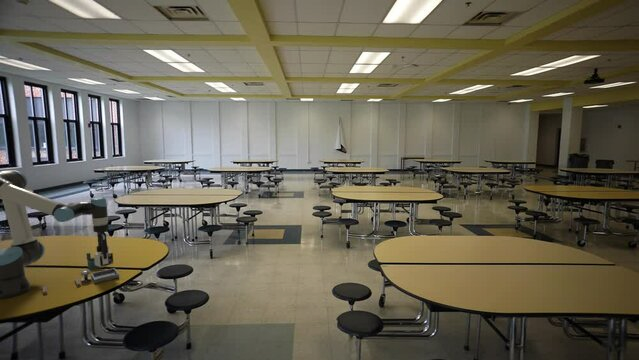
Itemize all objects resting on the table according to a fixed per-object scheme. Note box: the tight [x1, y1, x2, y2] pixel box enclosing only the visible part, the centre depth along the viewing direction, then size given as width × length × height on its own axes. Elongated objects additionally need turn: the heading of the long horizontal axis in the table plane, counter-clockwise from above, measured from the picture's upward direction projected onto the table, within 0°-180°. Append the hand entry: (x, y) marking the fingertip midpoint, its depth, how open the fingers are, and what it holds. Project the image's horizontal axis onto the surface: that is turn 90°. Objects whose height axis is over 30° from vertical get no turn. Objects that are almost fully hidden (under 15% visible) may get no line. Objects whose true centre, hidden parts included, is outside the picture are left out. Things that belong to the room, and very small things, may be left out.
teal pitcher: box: [85, 252, 102, 270], centre depth 217 cm, size 9×9×9 cm
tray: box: [90, 267, 120, 285], centre depth 200 cm, size 12×12×2 cm
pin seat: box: [42, 277, 82, 296], centre depth 187 cm, size 16×10×2 cm, turn 131°
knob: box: [80, 269, 92, 283], centre depth 196 cm, size 5×5×6 cm
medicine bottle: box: [93, 243, 114, 268], centre depth 198 cm, size 7×7×12 cm
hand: (104, 261), depth 199 cm, fingers closed on medicine bottle, 8 cm apart
